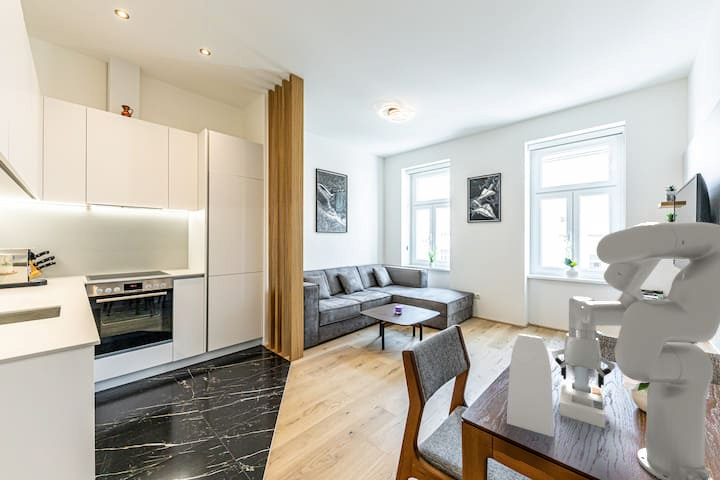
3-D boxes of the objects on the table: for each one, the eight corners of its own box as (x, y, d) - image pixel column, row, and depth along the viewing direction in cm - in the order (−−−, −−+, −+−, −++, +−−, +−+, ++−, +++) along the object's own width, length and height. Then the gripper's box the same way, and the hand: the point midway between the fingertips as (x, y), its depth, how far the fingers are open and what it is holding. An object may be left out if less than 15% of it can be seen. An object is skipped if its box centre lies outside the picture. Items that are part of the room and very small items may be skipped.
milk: (551, 415, 92) (552, 333, 92) (553, 437, 82) (554, 345, 82) (509, 404, 98) (509, 327, 98) (506, 423, 88) (507, 338, 88)
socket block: (605, 428, 86) (605, 413, 86) (559, 414, 92) (560, 401, 92) (600, 398, 102) (600, 385, 102) (562, 388, 108) (562, 376, 108)
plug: (591, 402, 99) (591, 367, 99) (579, 402, 99) (580, 367, 99) (582, 396, 103) (583, 362, 103) (571, 395, 103) (571, 362, 103)
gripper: (614, 335, 98) (613, 385, 99) (552, 325, 109) (552, 371, 109) (616, 341, 92) (615, 395, 93) (551, 331, 103) (551, 379, 103)
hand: (581, 382), depth 101 cm, fingers open, 9 cm apart
